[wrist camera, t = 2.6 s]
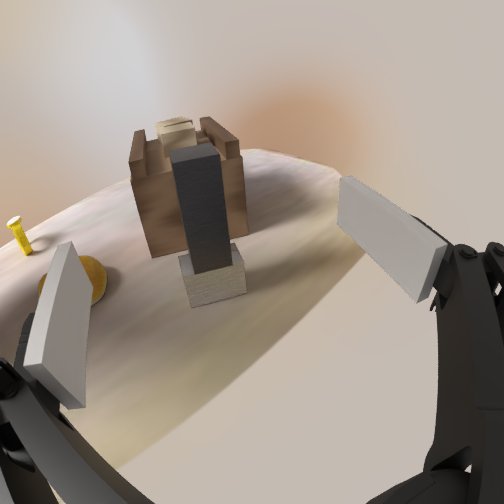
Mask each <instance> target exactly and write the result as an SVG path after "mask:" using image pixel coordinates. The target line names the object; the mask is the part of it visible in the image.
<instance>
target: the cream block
mask: <svg viewBox="0 0 504 504" xmlns="http://www.w3.org/2000/svg"><path fill="white" fill-rule="evenodd" d="M187 122H191V123H192V120H191V119H188V118H185V117H178V118H174V119H170V120H166V121H162V122H158V123H156V130H157V136H158V142H159V143H160V144H162V140H161V134H160V128H162V127H167V126H172V125H177V124H182V123H187ZM192 125H193V123H192Z"/></svg>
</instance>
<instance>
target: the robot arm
mask: <svg viewBox="0 0 504 504" xmlns="http://www.w3.org/2000/svg"><path fill="white" fill-rule="evenodd" d="M337 225H338V226H339V227H340V228H341V229H342V230H343V231H344V232H345V233H346V234H348V235H349V236H350V237H351V238H352V239H353V240H354V241H355V242H356V243H357V244H358V245H359V246H360V247H361V248H362V249H363V250H364V251H365V252H366V253H367V254H368V255H369V256H370V257H371V258H373V259H374V260H375V261H376V262H377V263H378V264H379V265H380V266H381V267H382V268H383V269H384V270H385V271H386V272H387V273H388V274H389V276H391V277H392V278H393V280H394V281H396V283H397V284H398V285H399V286H400V287H401V288H402V289H403V290H404V291H405V292H406V293H407V294H408V295H409V296H410V297H411V298H412V299H413V300H414V301H415V303H418V302H420V301H422V300H424V299H426V298H428V297H429V294H430V292H431V289H432V287H434V288H435V289H436V290H437V293H436V295H435V297H434V300H433V302H432V304H431V307H430V311H432V310H433V307H434V306H435V305H436V310H435V312H436V315H437V331H438V398H437V413H436V426H435V435H434V441H433V444H432V446H431V448H430V450H429V452H428V454H427V456H426V459H425V463H424V468H423V472H422V473H420V474H418V475H416V476H414V477H412V478H410V479H408V480H406V481H404V482H402V483H400V484H398V485H395V486H394V487H392V488H390V489H389V490H387V491H385V492H384V493H382V494H380V495H378V496H377V497H375V498H373V499H371V500H370V501H368V502H367V503H366V504H504V246H503V245H502V244H499V243H495V242H490V243H489V244H488V245H487V248H486V251H485V252H482V253H478V252H477V251H476V250H475V249H473V248H472V247H470V246H467V245H464V244H458V245H455V246H454V245H452V244H451V243H450V242H449V241H448V240H446V239H445V238H444V237H442V236H441V235H440V234H439V233H437V232H436V231H435V230H433V229H432V228H431V227H429V226H428V225H426V224H425V223H424V222H422V221H421V220H420V219H419V218H417V217H414V216H412V215H410V214H408V213H407V212H405V211H404V210H402V209H401V208H400V207H398V206H397V205H395V204H394V203H392V202H391V201H390V200H388V199H387V198H385V197H383V196H382V195H381V194H379V193H378V192H376V191H375V190H373V189H372V188H370V187H369V186H367V185H366V184H364V183H363V182H361V181H359V180H358V179H356V178H355V177H353V176H348V177H342V178H340V185H339V201H338V214H337ZM499 283H500V285H501V287H502V288H501V290H500V292H499V294H498V295H497V294H496V293H495V290H496V288H497V286H498V284H499ZM92 293H93V286H92V284H91V282H90V280H89V278H88V276H87V274H86V272H85V269H84V267H83V265H82V263H81V261H80V259H79V257H78V254H77V252H76V250H75V248H74V245H73V243H72V241H71V242H67V243H64V244H61V245H58V246H57V249H56V252H55V254H54V257H53V260H52V262H51V265H50V268H49V271H48V274H47V277H46V280H45V283H44V286H43V289H42V292H41V295H40V299H39V302H38V305H37V309H36V312H35V313H31V314H30V315H29V316H28V318H27V319H26V321H25V323H24V325H23V329H22V332H21V337H20V340H19V345H18V348H17V353H16V357H15V362H14V367H12V366H11V365H10V364H9V363H8V362H7V361H6V360H5V358H0V504H59V503H58V501H57V499H56V497H55V495H54V493H53V491H52V489H51V487H50V485H51V486H52V487H53V489H54V490H55V491H56V492H57V494H58V495H59V496H60V497H61V498H62V500H63V501H64V502H65V503H66V504H154V503H153V502H152V501H151V500H150V499H148V498H147V497H146V496H145V495H143V494H142V493H141V492H140V491H138V490H137V489H136V488H135V487H134V486H132V485H131V484H130V483H129V482H128V481H127V480H126V479H124V478H123V477H122V476H121V475H120V474H119V473H118V472H117V471H116V470H115V469H114V468H113V467H111V466H110V465H109V464H108V463H107V462H106V461H105V460H104V459H103V458H102V457H101V456H100V455H99V454H98V453H97V452H96V451H95V450H94V449H93V447H92V446H91V445H90V444H89V443H88V442H87V441H86V440H85V439H84V438H83V437H82V436H81V434H80V433H79V432H78V431H77V430H76V429H75V428H74V426H73V425H72V424H71V423H70V422H69V421H68V419H67V418H66V417H65V416H64V415H63V414H62V413H61V412H60V411H59V410H60V403H61V404H63V405H64V406H65V407H66V408H67V409H68V410H70V409H78V408H86V358H87V341H88V329H89V318H90V309H91V301H92ZM471 464H472V467H471V473H468V472H465V470H466V468H467V467H468V466H469V465H471ZM48 482H49V483H50V485H49V483H48Z"/></svg>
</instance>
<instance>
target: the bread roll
mask: <svg viewBox="0 0 504 504" xmlns="http://www.w3.org/2000/svg"><path fill="white" fill-rule="evenodd" d="M78 257H79V259H80V261H81V263H82V265H83V267H84V269H85V272H86V274H87V276H88V278H89V280H90V282H91V284H92V286H93V293H92V301H91V306H92V305H94V304H95V303H96V302H98V301H99V300H100V299H101V298H102V297H103V295H104V293H105V289H106V283H107V273H106V270H105V268H104V267H103V266H102V264H101V263H100V262H99V261H98V260H96V259H94V258H93V257H90V256H78ZM47 274H48V273H47ZM47 274H45V275H44V276H43V277H42V278H41V280H40V282H39V285H38V297H39V299H40V295H41V292H42V289H43V286H44V283H45V280H46V277H47Z"/></svg>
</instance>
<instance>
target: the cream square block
mask: <svg viewBox="0 0 504 504" xmlns="http://www.w3.org/2000/svg"><path fill="white" fill-rule="evenodd" d="M160 134H161V140H162V146H163V151H164V156H165V158H168V157H170V156H169V151H170V150H175V149H179V148H184V147H189V146H194V145H197V140H196V133H195V127H194V126H193V125H192V123H191V122H187V123H182V124H177V125H172V126H167V127H162V128H160Z"/></svg>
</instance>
